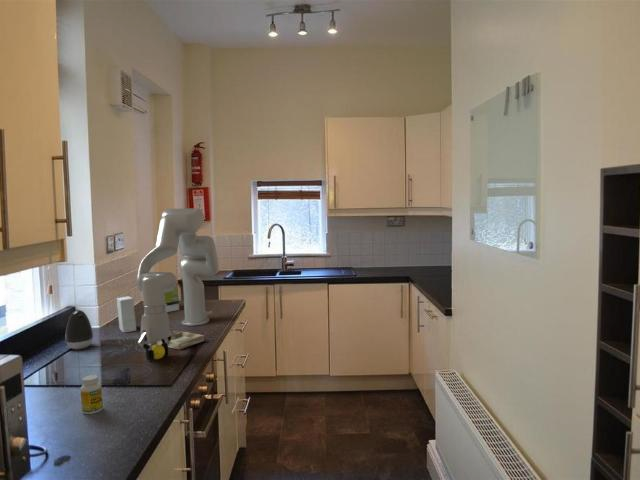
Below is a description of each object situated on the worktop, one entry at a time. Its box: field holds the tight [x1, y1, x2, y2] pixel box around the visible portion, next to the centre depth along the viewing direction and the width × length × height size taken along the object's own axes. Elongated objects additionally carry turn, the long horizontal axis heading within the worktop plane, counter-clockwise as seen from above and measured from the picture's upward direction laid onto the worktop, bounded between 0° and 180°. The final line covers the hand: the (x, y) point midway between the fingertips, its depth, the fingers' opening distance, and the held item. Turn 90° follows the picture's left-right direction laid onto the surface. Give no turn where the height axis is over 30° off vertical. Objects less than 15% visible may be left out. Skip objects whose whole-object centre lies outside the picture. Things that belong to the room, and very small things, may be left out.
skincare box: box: [116, 295, 137, 333], centre depth 227 cm, size 8×6×15 cm
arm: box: [156, 326, 205, 350], centre depth 205 cm, size 19×13×7 cm
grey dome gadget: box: [64, 309, 94, 350], centre depth 202 cm, size 10×10×15 cm
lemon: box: [152, 344, 165, 360], centre depth 185 cm, size 7×5×5 cm
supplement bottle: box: [79, 374, 104, 415], centre depth 141 cm, size 5×5×10 cm
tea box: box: [165, 283, 180, 313], centre depth 262 cm, size 15×10×15 cm
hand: (157, 357), depth 185 cm, fingers closed on lemon, 5 cm apart
